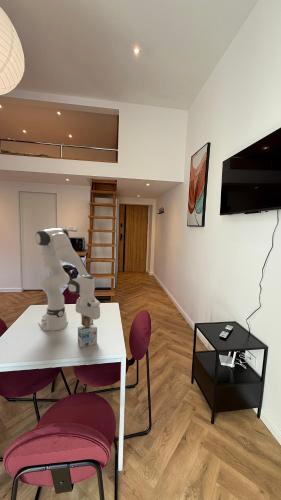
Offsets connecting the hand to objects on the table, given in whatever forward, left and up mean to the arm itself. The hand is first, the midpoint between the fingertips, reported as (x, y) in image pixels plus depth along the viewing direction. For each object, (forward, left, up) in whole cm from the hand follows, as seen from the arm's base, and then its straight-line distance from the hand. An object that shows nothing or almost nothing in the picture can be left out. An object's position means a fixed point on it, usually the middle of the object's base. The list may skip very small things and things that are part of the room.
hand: (87, 322), depth 137 cm
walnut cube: (0, 0, -2) cm, 2 cm away
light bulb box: (0, 0, -14) cm, 14 cm away
